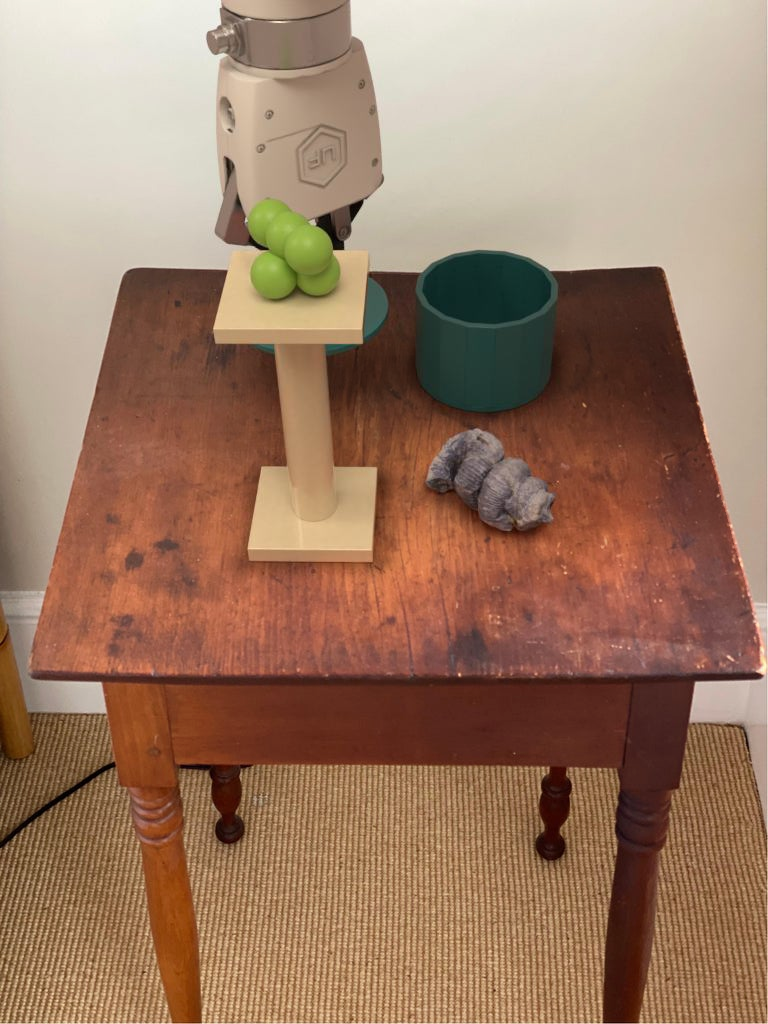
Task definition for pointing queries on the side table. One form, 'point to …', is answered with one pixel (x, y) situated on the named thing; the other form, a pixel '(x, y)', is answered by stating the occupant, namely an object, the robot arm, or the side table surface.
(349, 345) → the lid
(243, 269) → the pedestal
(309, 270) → the grapes
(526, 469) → the seashell
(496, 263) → the pot
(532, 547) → the side table surface
